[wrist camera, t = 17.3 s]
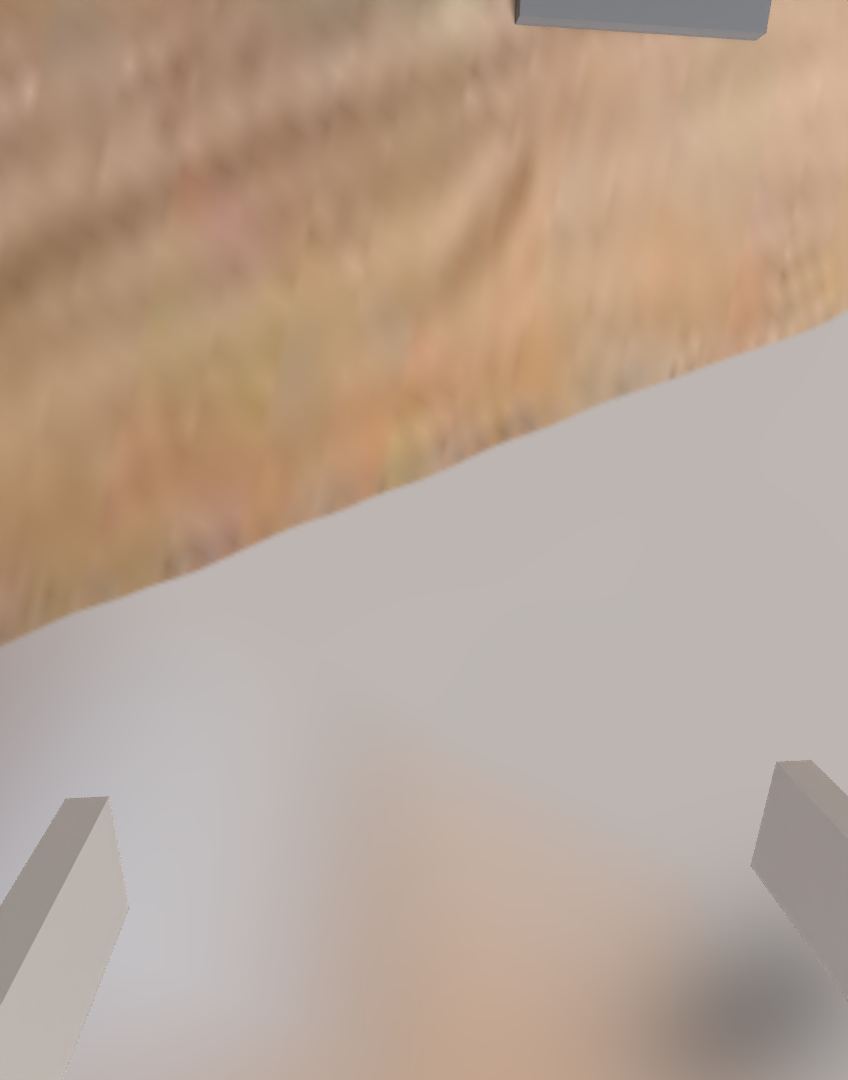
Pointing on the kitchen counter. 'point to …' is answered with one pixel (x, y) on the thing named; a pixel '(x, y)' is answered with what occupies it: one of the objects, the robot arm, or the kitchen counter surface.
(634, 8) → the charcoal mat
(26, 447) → the kitchen counter surface
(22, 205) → the kitchen counter surface
